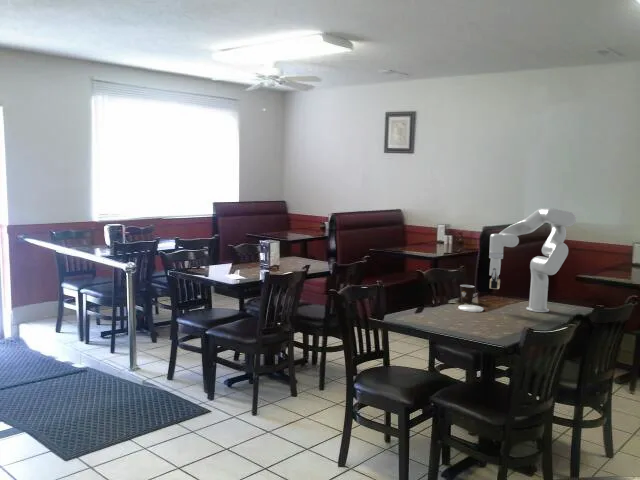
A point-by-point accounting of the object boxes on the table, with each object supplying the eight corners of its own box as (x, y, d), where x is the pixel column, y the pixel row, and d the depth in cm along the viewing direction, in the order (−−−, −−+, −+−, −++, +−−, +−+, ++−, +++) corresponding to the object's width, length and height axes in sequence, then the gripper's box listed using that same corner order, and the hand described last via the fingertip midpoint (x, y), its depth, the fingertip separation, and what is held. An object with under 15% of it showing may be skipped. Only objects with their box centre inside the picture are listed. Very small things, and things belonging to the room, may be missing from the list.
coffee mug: (456, 300, 359) (457, 284, 358) (468, 300, 361) (469, 284, 361) (466, 304, 348) (467, 288, 347) (479, 304, 350) (480, 288, 349)
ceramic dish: (460, 305, 344) (460, 303, 343) (484, 308, 338) (485, 306, 338) (456, 310, 331) (456, 308, 331) (481, 313, 325) (481, 311, 325)
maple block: (490, 287, 333) (491, 278, 332) (499, 287, 331) (500, 279, 330) (489, 288, 328) (489, 279, 328) (498, 289, 326) (499, 280, 326)
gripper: (491, 253, 337) (489, 284, 339) (487, 256, 321) (485, 289, 323) (504, 254, 334) (503, 285, 336) (501, 257, 318) (499, 290, 320)
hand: (494, 287), depth 329 cm, fingers closed on maple block, 4 cm apart
